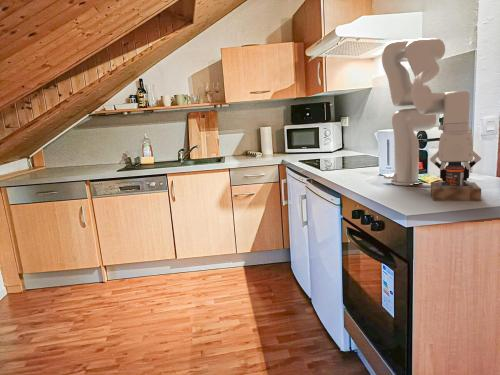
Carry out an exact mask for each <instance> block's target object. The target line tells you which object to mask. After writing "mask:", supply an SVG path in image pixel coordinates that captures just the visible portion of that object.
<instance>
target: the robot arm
mask: <svg viewBox="0 0 500 375" xmlns="http://www.w3.org/2000/svg"><path fill="white" fill-rule="evenodd" d="M445 53H446V45H445V43H444V41H443V40H442V39H440V38H438V37H436V38H435V37H431V38H417V39H402V40H401V39H400V40H393V41H389V42H388V43H386V44H385V46H384V47H383V49H382V52H381V62H382V64H381V65H382V67H383V70H384V73H385V75H386V78H387V82H388V85H389V92H390V98H391V101H392V104H393V106H395V107H396V108H404V109H399V110H397V111H395V112H394V113H393V114H392V118H391V126H392V130H393V136H394V137H393V140H394V172H393V173H391V174H389V173H387V174H386V173H385V174H383V179H386V180H390V183H391V184H392V185H395V186H411V185H410V184H415V183H419V182H417V181H418V179H420V176H419V175H420V174H419V172H420V171H419V167H420V163H419V162H420V160H419V159H420V144H419V138H418V137H417V135H416V133H415V132H421V131H430V130H432V129H434V127H435V126H436V123H437V115H442V116H443V118H442V119H443V121H442V122H443V123H442V124H441V125H438V126H437V127H438V130H439V131H442V132H441V133H440V137H439V142H438V149H437V150H438V151H437V152H436V153H434V155H432V156H431V157H430V158H429V161H430V162H431V163H433V164H434V165H435V166H436V167H437V168H438V169H439V179H441V180H442V181H445V167H446V166H447V165H446V164H448V162H461V163H462V164H463V166H464V181H468V179H470V170H471V169H472V167H474V166H475V165H476V164H477V163H478V162H481V160H482V158H481V156H480V155H478V153H476V152H475V151H474V142H473V136H472V132H471V131H470V130H469V127H470V126H469V123H470V101H471V100H470V99H471V98H470V96H471V95H470V92H469V91H468V90H456V91H445V92H442V91H441V92H433V91H432V89H431V87H430V86H429V85H428V84H426V83H428V82H430V81H432V80H433V79H434V78H436V76H438V75H439V72H440V66H439V63H438V61H439V60H441V59H443V57H444V55H445ZM402 62H404V63H405V62H408V65H409V67H410V69H411V71H412V73H413V75H414V79H413V82H412V81H411V77H410V73H409V71H408V70H407V68H406V67H405V66H404V65H403V64H401V63H402ZM473 158H474V159H473ZM436 159H438V160H439V161H440V163H439V162H438V161H437V160H436Z"/></svg>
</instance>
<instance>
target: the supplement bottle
mask: <svg viewBox="0 0 500 375" xmlns="http://www.w3.org/2000/svg"><path fill="white" fill-rule="evenodd" d="M464 167H465V165H463V164H462V162H447V165H445V167H444V168H445V181H444V186H464Z"/></svg>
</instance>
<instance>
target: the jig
mask: <svg viewBox="0 0 500 375" xmlns="http://www.w3.org/2000/svg"><path fill="white" fill-rule="evenodd" d="M430 195H431V198H432V201H451V202H452V201H456V202H457V201H463V202H464V201H469V202H470V201H471V202H473V201H475V202H481V200H482V188H481V187H480V186H479V185H478V184H477V183H476V182H473V181H472V182H471V181H468V180H467V181H464V186H444V181H441V180H440V181H438V180H437V181H436V182H434V181H433V182H432V181H431V182H430Z"/></svg>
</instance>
